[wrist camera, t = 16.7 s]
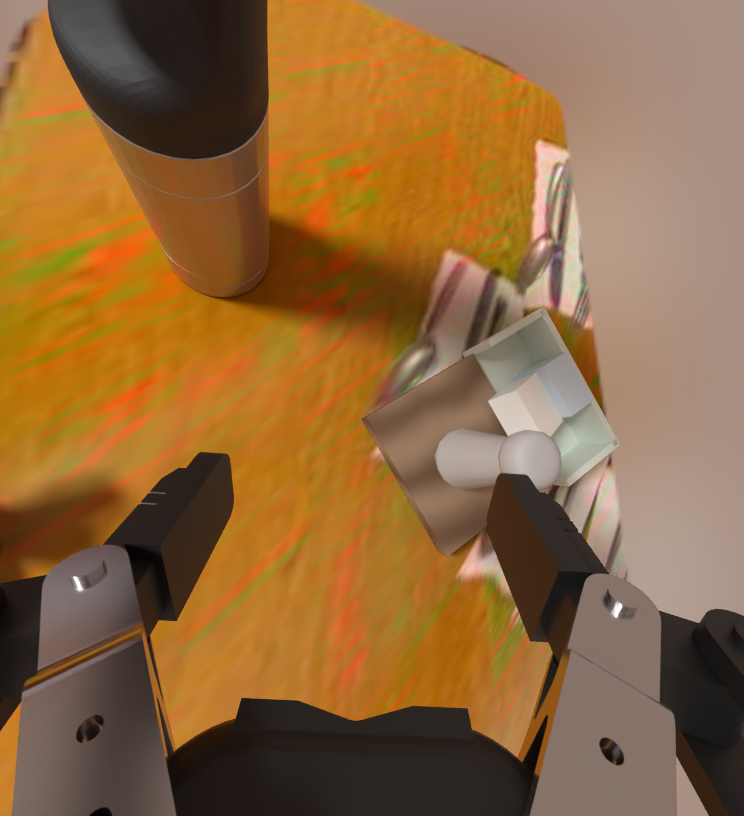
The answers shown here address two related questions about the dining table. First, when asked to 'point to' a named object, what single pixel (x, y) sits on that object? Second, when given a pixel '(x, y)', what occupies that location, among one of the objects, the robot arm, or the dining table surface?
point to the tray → (531, 342)
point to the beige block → (526, 407)
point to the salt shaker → (497, 458)
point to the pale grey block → (560, 383)
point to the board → (418, 441)
